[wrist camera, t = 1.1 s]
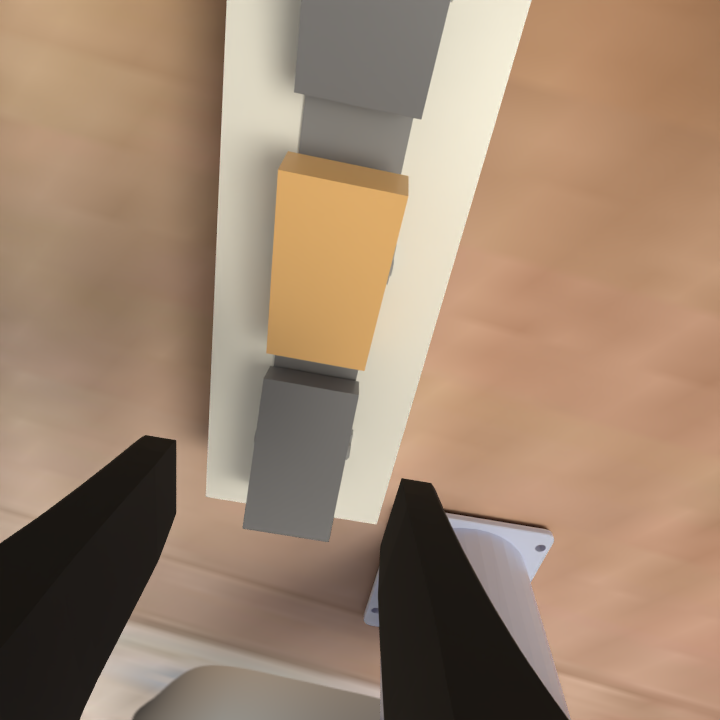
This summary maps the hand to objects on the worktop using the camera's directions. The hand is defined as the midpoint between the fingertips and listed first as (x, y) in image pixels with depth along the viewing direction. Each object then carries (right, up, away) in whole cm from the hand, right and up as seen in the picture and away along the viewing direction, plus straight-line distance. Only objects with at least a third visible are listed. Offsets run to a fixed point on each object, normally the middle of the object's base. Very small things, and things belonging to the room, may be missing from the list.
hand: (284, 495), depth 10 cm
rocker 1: (0, 0, +8) cm, 8 cm away
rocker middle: (+1, +6, +4) cm, 7 cm away
